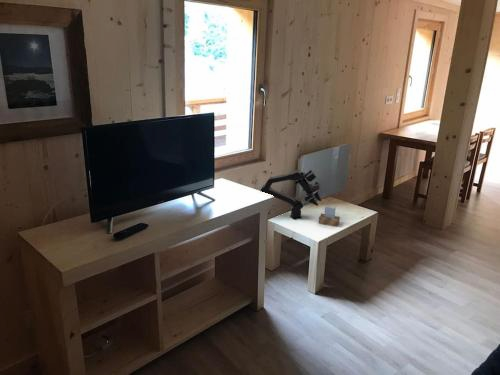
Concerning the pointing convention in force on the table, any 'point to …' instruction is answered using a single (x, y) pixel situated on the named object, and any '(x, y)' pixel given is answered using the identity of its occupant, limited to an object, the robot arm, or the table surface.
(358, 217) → the table surface
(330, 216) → the cover plate
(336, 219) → the slotted case
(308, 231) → the table surface
